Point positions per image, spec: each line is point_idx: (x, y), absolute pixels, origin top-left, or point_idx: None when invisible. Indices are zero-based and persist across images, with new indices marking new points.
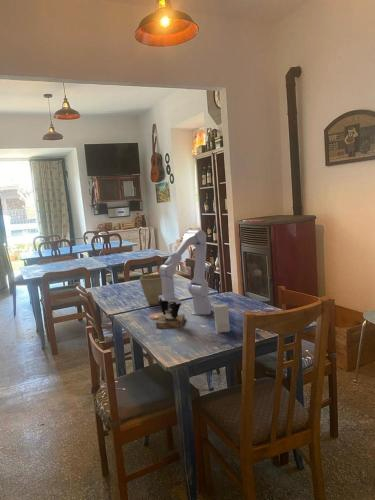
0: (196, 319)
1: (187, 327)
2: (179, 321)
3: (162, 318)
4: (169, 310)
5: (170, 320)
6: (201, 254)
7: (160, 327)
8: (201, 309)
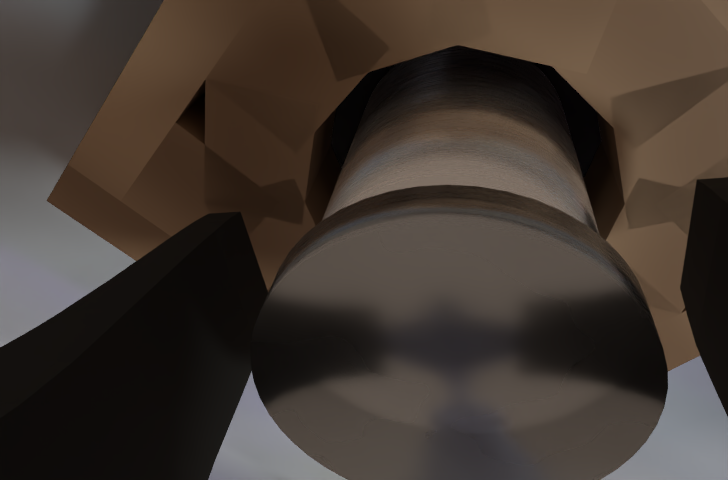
0: (314, 460)
1: (52, 214)
2: (112, 213)
3: (674, 48)
4: (375, 343)
5: (316, 116)
6: None
7: None
8: None
